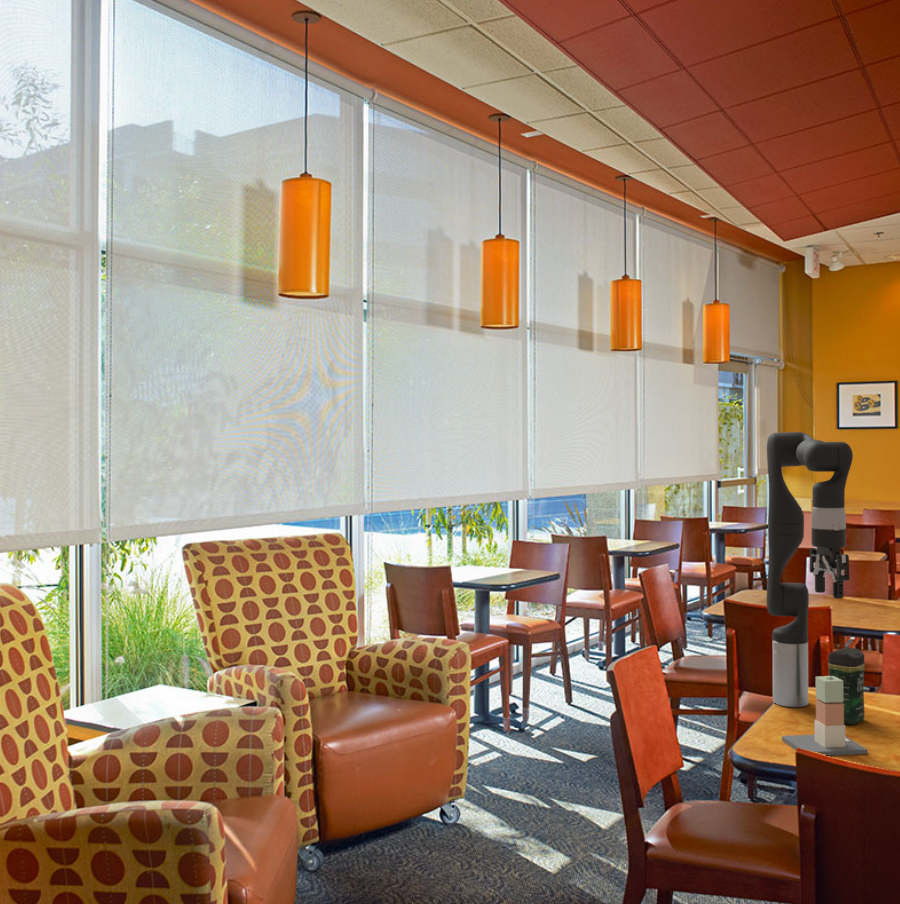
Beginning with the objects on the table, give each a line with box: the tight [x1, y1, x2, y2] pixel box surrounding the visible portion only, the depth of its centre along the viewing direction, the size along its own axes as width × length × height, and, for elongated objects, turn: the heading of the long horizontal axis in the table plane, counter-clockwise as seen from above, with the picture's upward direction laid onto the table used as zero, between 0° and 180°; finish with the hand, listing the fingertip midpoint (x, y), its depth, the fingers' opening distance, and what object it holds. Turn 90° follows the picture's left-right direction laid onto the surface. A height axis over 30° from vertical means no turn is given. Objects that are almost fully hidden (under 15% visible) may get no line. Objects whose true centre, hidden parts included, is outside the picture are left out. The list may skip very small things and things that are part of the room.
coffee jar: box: [827, 646, 866, 725], centre depth 240 cm, size 10×8×19 cm
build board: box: [781, 719, 869, 757], centre depth 220 cm, size 12×15×6 cm
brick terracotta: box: [815, 698, 845, 726], centre depth 219 cm, size 4×4×5 cm
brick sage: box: [815, 675, 843, 703], centre depth 219 cm, size 4×4×5 cm
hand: (829, 595), depth 218 cm, fingers open, 8 cm apart
